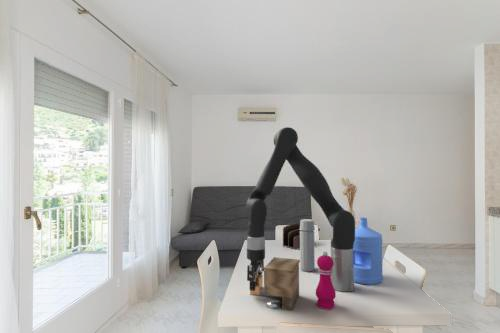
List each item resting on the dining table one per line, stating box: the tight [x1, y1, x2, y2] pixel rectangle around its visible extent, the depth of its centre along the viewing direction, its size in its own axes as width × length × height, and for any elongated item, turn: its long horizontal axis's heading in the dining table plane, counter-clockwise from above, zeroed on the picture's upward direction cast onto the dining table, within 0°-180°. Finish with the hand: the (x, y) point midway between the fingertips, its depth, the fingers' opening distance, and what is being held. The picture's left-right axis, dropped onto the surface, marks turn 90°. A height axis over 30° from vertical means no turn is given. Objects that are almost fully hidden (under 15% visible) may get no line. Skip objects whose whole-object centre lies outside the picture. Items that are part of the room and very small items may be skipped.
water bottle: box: [299, 218, 316, 273], centre depth 156 cm, size 9×8×25 cm
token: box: [265, 298, 281, 309], centre depth 114 cm, size 5×5×2 cm
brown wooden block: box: [263, 257, 300, 311], centre depth 118 cm, size 11×15×14 cm
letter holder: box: [282, 223, 301, 250], centre depth 205 cm, size 10×20×14 cm, turn 131°
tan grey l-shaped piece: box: [249, 274, 282, 299], centre depth 124 cm, size 14×4×7 cm, turn 71°
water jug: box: [353, 217, 384, 286], centre depth 141 cm, size 16×16×28 cm
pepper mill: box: [315, 251, 337, 310], centre depth 114 cm, size 7×7×20 cm
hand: (255, 286), depth 126 cm, fingers open, 8 cm apart
